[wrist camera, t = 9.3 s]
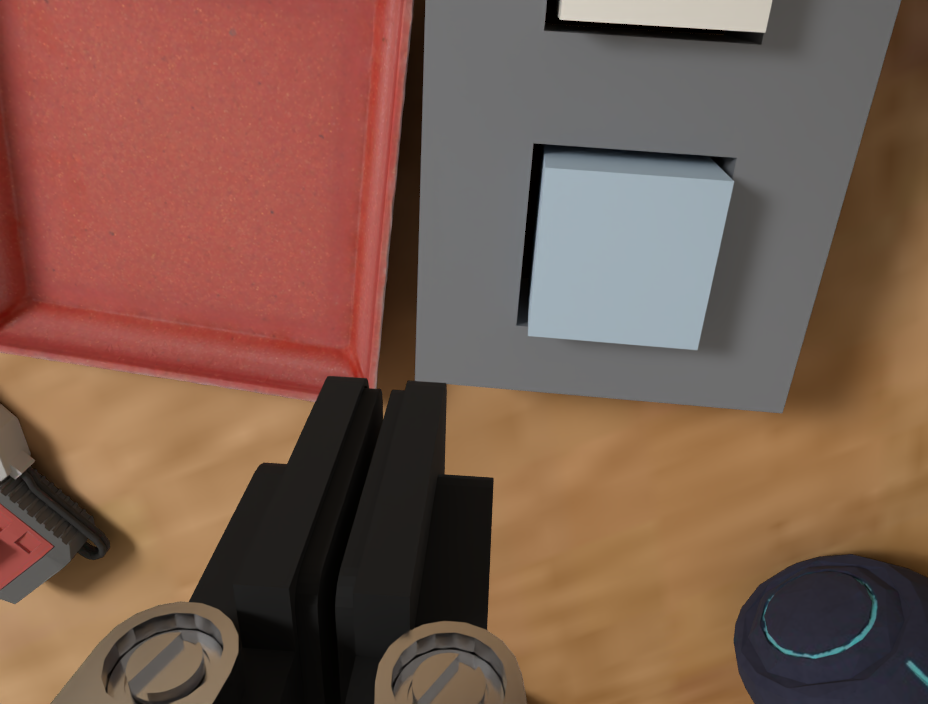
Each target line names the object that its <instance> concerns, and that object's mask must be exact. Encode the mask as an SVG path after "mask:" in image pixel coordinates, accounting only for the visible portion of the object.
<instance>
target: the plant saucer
mask: <svg viewBox="0 0 928 704" xmlns="http://www.w3.org/2000/svg"><path fill="white" fill-rule="evenodd" d="M413 5H414V0H0V353H7V354H14V355H20V356H27V357H33V358H38V359H46V360H51V361H59V362H66V363H72V364H79V365H85V366H91V367H98V368H103V369H110V370H116V371H122V372H129V373H134V374H143V375H148V376H154V377H160V378H168V379H174V380H180V381H188V382H193V383H197V384H203V385H213V386H219V387H224V388H230V389H237V390H245V391H251V392H256V393H261V394H268V395H277V396H282V397H287V398H293V399H301V400H306V401H312V402H316V399H317V397H318V395H319V393H320V391H321V388H322V386H323V384H324V382H325V380H326V378H327V376H340V377H357V378H367V379H368V383H369V388H372V389H376V388H377V376H378V365H379V356H380V345H381V334H382V323H383V312H384V301H385V291H386V282H387V272H388V260H389V249H390V239H391V229H392V220H393V208H394V198H395V191H396V183H397V170H398V160H399V147H400V139H401V128H402V115H403V106H404V100H405V86H406V76H407V66H408V57H409V48H410V37H411V28H412V20H413Z"/></svg>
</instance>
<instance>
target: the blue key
mask: <svg viewBox="0 0 928 704" xmlns="http://www.w3.org/2000/svg"><path fill="white" fill-rule="evenodd" d="M733 185H734V181H733V180H732V179H731V178H730V177H729V176H728V175H727V174H726V173H725V172H724V171H723V170H722V169H721V168H720V167H719V166H718V165H717V164H716V163H715V162H714V161H713V160H712V159H711V158H710V157H709V156H705V155H691V154H676V153H662V152H648V151H634V150H620V149H606V148H592V147H578V146H564V145H550V144H542V154H541V164H540V174H539V184H538V194H537V204H536V214H535V224H534V234H533V244H532V254H531V264H530V274H529V288H528V336H534V337H546V338H558V339H570V340H582V341H594V342H606V343H618V344H629V345H641V346H653V347H665V348H677V349H689V350H698V345H699V341H700V336H701V331H702V327H703V322H704V318H705V313H706V308H707V304H708V299H709V295H710V290H711V286H712V281H713V276H714V272H715V267H716V263H717V258H718V253H719V249H720V244H721V240H722V235H723V231H724V226H725V221H726V217H727V212H728V208H729V203H730V198H731V194H732V189H733Z"/></svg>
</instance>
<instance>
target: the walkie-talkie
mask: <svg viewBox="0 0 928 704" xmlns="http://www.w3.org/2000/svg"><path fill="white" fill-rule="evenodd" d="M30 455H31V453H30V450H29V447H28V444H27V442H26V439H25V436H24V434H23V431H22V428H21V425H20V423H19V420H18V418H17V417H16V416H15V415H13V414H12V413H11V412H10V411H9V410H7V409H6V408H5V407H4V406H3V405H2V404H0V599H2V600H5V601H8V602H10V603H13V604H16V603H17V602H19V601H20V600H21V599H23V598H24V597H25V596H27V595H28V594H29V593H31V592H32V591H33V590H35V589H36V588H37V587H39V586H40V585H41V584H43V583H44V582H45V581H47V580H48V579H49V578H50V577H52V576H53V575H54V574H56V573H57V572H58V571H60V570H61V569H62V568H64V567H65V566H66V565H67V564H68V563H69V562H70V561H71V560H72V559H73V557H74V556H75V555H76V554H77V552H78V553H79V554H80V555H82V556H83V557H85V558H87V559H92V560H96V559H99V558H102V557H103V556H104V555H105V554H106V552H107V551H108V550H109V548H110V541H109V540H108V538H107V537H106V536H105V534H104V533H103V532H102V531H101V530H100V529H98V528H97V527H96V526H95V524H94V519H93V516H90V515H89V514H88V513H86V510H85V509H82V508H80V507H79V506H78V503H76V502H75V503H74V502H73V501H72V500H71V499H70V497H69V496H66V495H65V494H63V493H62V490H61V489H57V488H56V487H55V486H54V484H53V483H52V482H49V481H48V480H46V479H45V478H46V477H45V476H44V475H43V476H42V475H40V474H39V473H38V472H37V471H38V470H36V469H33V468H32V467H31V465H32V464H33V463H34V462H35V460H34V459H33V458H32V457H30ZM88 538H89V539H90V540H91V541H92V542H94V544H95V545H96V546H97V547H95V546H92V545H90V544H89V543H88V542H87V540H88Z"/></svg>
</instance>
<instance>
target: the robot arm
mask: <svg viewBox="0 0 928 704" xmlns="http://www.w3.org/2000/svg"><path fill="white" fill-rule="evenodd" d="M446 396H447V388H446V383H439V382H422V381H407V384H406V388H405V390H392V391H391V394H390V398H389V401H388V405H387V408H386V412H385V415H384V419H383V400H382V391H381V389H372V388H369V383H368V379H367V378H357V377H340V376H327V378H326V380H325V382H324V384H323V386H322V388H321V391H320V393H319V395H318V397H317V399H316V402H315V404H314V406H313V408H312V410H311V413H310V415H309V417H308V419H307V421H306V424H305V426H304V428H303V430H302V432H301V435H300V437H299V439H298V441H297V443H296V446H295V448H294V450H293V452H292V455H291V457H290V459H289V461H288V463H287V464H277V463H263V464H261V465H259V467H258V468H257V470H256V471H255V473H254V475H253V477H252V479H251V481H250V483H249V485H248V487H247V489H246V491H245V493H244V494H243V496H242V498H241V500H240V502H239V504H238V506H237V508H236V510H235V512H234V514H233V516H232V518H231V520H230V522H229V524H228V526H227V528H226V530H225V532H224V534H223V536H222V538H221V540H220V542H219V544H218V546H217V548H216V549H215V551H214V553H213V555H212V557H211V559H210V561H209V563H208V565H207V567H206V569H205V571H204V573H203V575H202V577H201V579H200V581H199V583H198V585H197V587H196V589H195V591H194V593H193V595H192V597H191V599H190V601H189V602H175V603H169V604H163V605H158V606H155V607H153V608H150V609H147V610H145V611H142V612H139V613H137V614H135V615H133V616H132V617H130V618H129V619H127V620H125V621H124V622H122V623H121V624H119V625H117V626H116V627H115V628H114V629H113V630H112V631H111V632H110V633H109V634H108V635H107V636H106V637H105V638H104V639H103V640H102V641H101V642H99V644H98V645H97V646H96V647H95V649H94V650H93V651H92V652H91V654H90V655H89V656H88V657H87V659H86V660H85V661H84V662H83V664H82V665H81V666H80V667H79V669H78V670H77V671H76V672H75V674H74V675H73V676H72V677H71V679H70V680H69V681H68V682H67V684H66V685H65V686H64V687H63V688H62V690H61V691H60V692H59V693H58V695H57V696H56V697H55V698H54V700H53V701H52V702H51V703H50V704H527V700H526V694H525V689H524V683H523V678H522V674H521V671H520V668H519V666H518V663H517V660H516V658H515V656H514V655H513V653H512V652H511V651H510V650H509V648H508V647H507V646H506V645H505V643H504V642H503V641H502V640H500V639H499V638H497V637H496V636H494V635H493V634H492V633H490V632H489V631H487V618H488V595H489V572H490V549H491V526H492V503H493V478H489V477H474V476H459V475H444V471H445V434H446Z"/></svg>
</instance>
